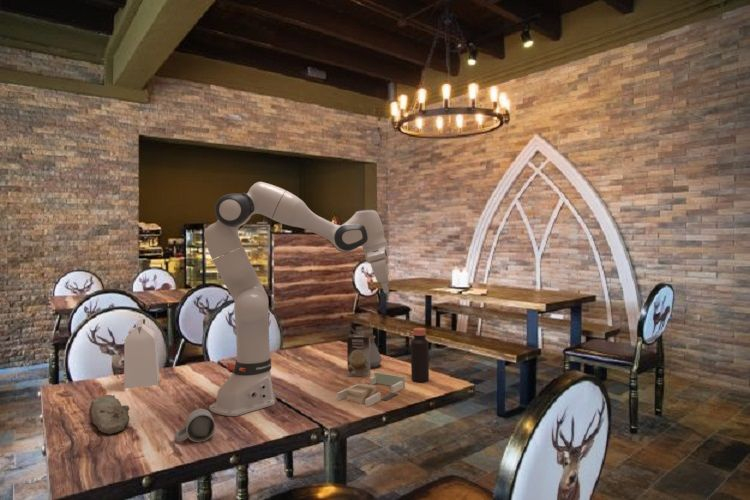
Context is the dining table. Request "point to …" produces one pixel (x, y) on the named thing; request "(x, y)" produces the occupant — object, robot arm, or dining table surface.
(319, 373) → the dining table surface
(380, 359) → the coffee pot
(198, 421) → the ceramic mug
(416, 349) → the bottle
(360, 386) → the maple block
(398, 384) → the box
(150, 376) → the milk
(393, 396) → the pads
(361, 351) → the coffee box
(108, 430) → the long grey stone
